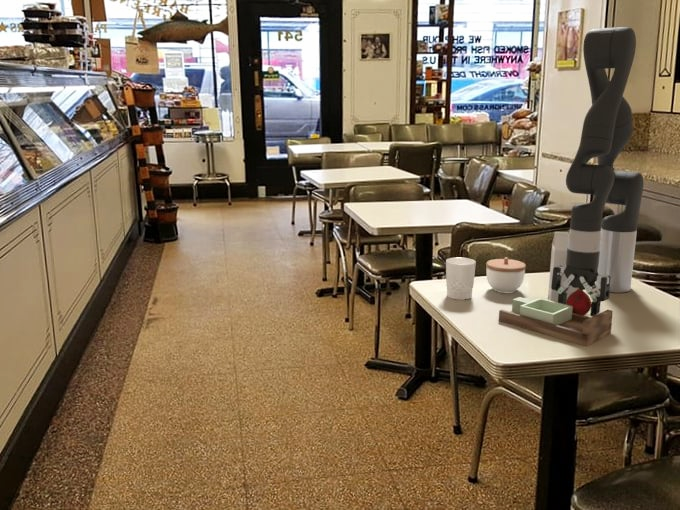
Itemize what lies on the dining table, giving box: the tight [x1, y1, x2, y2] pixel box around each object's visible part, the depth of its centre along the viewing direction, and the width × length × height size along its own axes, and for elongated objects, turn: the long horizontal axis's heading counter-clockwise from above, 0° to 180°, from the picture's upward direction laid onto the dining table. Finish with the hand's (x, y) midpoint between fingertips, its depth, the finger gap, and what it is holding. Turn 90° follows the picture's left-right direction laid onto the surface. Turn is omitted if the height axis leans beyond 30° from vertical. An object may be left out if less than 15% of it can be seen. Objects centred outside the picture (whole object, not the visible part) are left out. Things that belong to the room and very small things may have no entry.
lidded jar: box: [485, 257, 527, 293], centre depth 190 cm, size 11×11×9 cm
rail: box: [498, 309, 614, 347], centre depth 161 cm, size 11×23×6 cm, turn 43°
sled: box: [511, 296, 573, 325], centre depth 164 cm, size 9×13×3 cm
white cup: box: [445, 256, 476, 301], centre depth 184 cm, size 8×8×10 cm
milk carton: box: [547, 231, 578, 303], centre depth 178 cm, size 7×7×19 cm
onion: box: [566, 288, 592, 316], centre depth 167 cm, size 6×6×8 cm
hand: (577, 311), depth 167 cm, fingers open, 8 cm apart
